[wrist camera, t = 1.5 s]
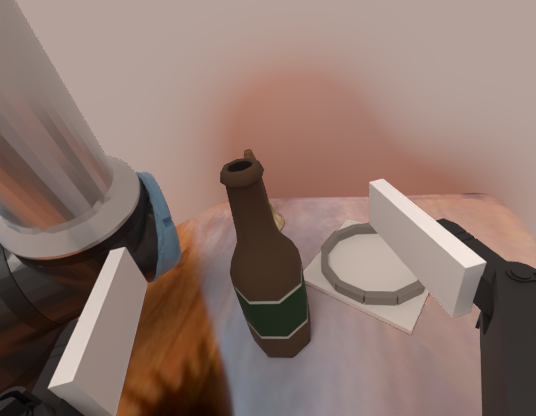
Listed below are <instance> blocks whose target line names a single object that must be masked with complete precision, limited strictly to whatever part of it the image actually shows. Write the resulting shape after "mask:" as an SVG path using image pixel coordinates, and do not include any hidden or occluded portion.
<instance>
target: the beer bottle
mask: <svg viewBox="0 0 536 416" xmlns="http://www.w3.org/2000/svg"><path fill="white" fill-rule="evenodd" d="M263 171H264V169H263V167H262V165H261V164H260V162H259V161H257V160H255V159H252V158H244V159H236V160H234V161H232V162H230V163H228V164H226V165H224V167H223V169H222V171H221V172H220V182H221V183H222V184H224V185H226V190H227V194H228V198H229V203H230V207H231V211H232V216H233V220H234V224H235V229H236V233H237V244H236V247H235V250H234V254H233V257H232V260H231V269H230V275H231V279H232V283H233V286H234V289H235V291H236V294H237V297H238V300H239V302H240V305H241V308H242V310H243V313H244V316H245V318H246V321H247V324H248V326H249V329H250V332H251V334H252V336H253V338H254V340H255V341H256V343H257V344H258V345H259V346H260V347H261V348H262V350H263V351H264V352H265V353H266V354H267V356H268V357H287V358H293V357H294V356H295V355H296V354H297V353H298V352H299V351H300V350H301V349H302V348H303V347H304V346H305V345H306V344H307V343H309V342H310V313H309V306H308V299H307V293H306V287H305V281H304V275H303V268H302V262H301V258H300V255H299V251H298V249H297V248H296V246H295V245H294V243H293V242H292V241H291V240H290V239H289V238H287V237H286V236H284V235H283V234H282V233H280V232H279V229H278V227H277V225H276V223H275V221H274V217H273V214H272V210H271V207H270V204H269V200H268V197H267V193H266V190H265V186H264V183H263V180H262V175H263Z"/></svg>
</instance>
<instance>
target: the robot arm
mask: <svg viewBox="0 0 536 416" xmlns="http://www.w3.org/2000/svg"><path fill="white" fill-rule="evenodd" d="M369 224H370V225H371V226H372V227H373V228H374V229H375V231H376V232H377V233H378V234H379V235H380V236H381V238H382V239H383V240H384V241H385V242H386V243H387V244H388V246H389V247H390V248H391V249H392V250H393V251H394V252H395V254H396V255H397V256H398V257H399V258H400V259H401V260H402V262H403V263H404V264H405V265H406V266H407V267H408V269H409V270H410V271H411V272H412V273H413V274H414V275H415V277H416V278H417V279H418V280H419V281H420V282H421V283H422V285H423V286H424V287H425V288H426V289H427V290H428V292H429V293H430V294H431V295H432V296H433V297H434V298H435V300H436V301H437V302H438V303H439V304H440V305H441V306H442V308H443V309H444V310H445V311H446V312H447V313H448V315H449V316H450V317H451V318H454V317H458V316H461V315H465V314H468V313H470V312H471V308H472V305H473V303H474V304H475V305H476V306H477V307H478V308H479V309H480V310H481V312H480V315H479V318H478V321H477V324H476V327H475V328H477V329H479V327H480V350H481V383H482V416H536V269H535V268H533V267H531V266H529V265H527V264H523V263H519V262H510V261H508V262H507V261H506V260H504V259H503V258H502V257H500V256H499V255H498V254H496V253H495V252H494V251H492V250H491V249H490V248H488V247H487V246H486V245H484V244H483V243H482V242H480V241H479V240H478V239H475V238H474V236H472V235H471V234H470V233H467V232H466V230H464V229H463V228H462V227H460V226H459V225H458V224H456V223H454V222H451V221H449V220H446V219H444V218H443V219H440V220H436V221H435V220H434V219H432V218H431V217H430V216H429V215H427V214H426V213H425V212H424V211H422V210H421V209H420V208H419V207H418V206H416V205H415V204H414V203H413V202H411V201H410V200H409V199H408V198H406V197H405V196H404V195H403V194H401V193H400V192H399V191H398V190H396V189H395V188H394V187H393V186H391V185H390V184H389V183H388V182H386V181H385V180H384V179H380V180H376V181H372V182H370V183H369ZM180 258H181V247H180V242H179V238H178V234H177V231H176V228H175V225H174V223H173V221H172V220H171V215H170V211H169V208H168V206H167V203H166V201H165V198H164V196H163V194H162V192H161V189H160V187H159V186H158V184H157V182H156V180H155V179H154V177H153V176H152V175H151V174H150V173H148V172H142V173H138V172H136V173H135V171H134V170H133V169H132V168H131V167H130V166H129V165H128V164H127V163H126V162H124V161H122V160H120V159H118V158H115V157H111V156H107V155H105V153H104V151H103V149H102V148H101V146H100V145H99V143H98V141H97V139H96V137H95V136H94V134H93V132H92V131H91V129H90V127H89V125H88V124H87V122H86V120H85V119H84V117H83V115H82V114H81V112H80V110H79V108H78V107H77V105H76V103H75V102H74V100H73V98H72V96H71V95H70V93H69V91H68V90H67V88H66V86H65V84H64V83H63V81H62V80H61V78H60V76H59V74H58V72H57V71H56V69H55V67H54V66H53V64H52V62H51V61H50V59H49V57H48V56H47V54H46V52H45V50H44V49H43V47H42V45H41V43H40V42H39V40H38V38H37V37H36V35H35V33H34V31H33V30H32V28H31V26H30V25H29V23H28V21H27V20H26V18H25V16H24V14H23V13H22V11H21V9H20V8H19V6H18V4H17V2H16V1H15V0H0V416H116V413H117V409H118V405H119V401H120V397H121V393H122V388H123V384H124V380H125V376H126V372H127V368H128V364H129V360H130V355H131V351H132V347H133V343H134V339H135V335H136V331H137V327H138V322H139V318H140V314H141V310H142V306H143V302H144V298H145V294H146V289H147V285H148V282H153V281H155V280H156V279H157V278H158V277H159V276H161V275H162V274H164V273H166V272H168V271H169V270H171V269H173V268H174V267H175V266H176V265H177V264H178V263H179V261H180ZM78 317H80V318H79V319H77V318H78Z"/></svg>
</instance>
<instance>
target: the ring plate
mask: <svg viewBox="0 0 536 416" xmlns="http://www.w3.org/2000/svg"><path fill="white" fill-rule="evenodd" d="M303 275H304V281H305V284H307V285H309V286H311V287H313V288H315V289H317V290H319V291H321V292H324V293H326V294H328V295H330V296H332V297H334V298H336V299H338V300H340V301H342V302H344V303H346V304H348V305H350V306H352V307H354V308H356V309H358V310H360V311H362V312H365V313H367V314H369V315H371V316H373V317H375V318H377V319H379V320H381V321H383V322H385V323H387V324H389V325H391V326H393V327H395V328H397V329H399V330H401V331H403V332H406V333H408V334H410V335H411V334H412V332H413V329H414V327H415V325H416V322H417V320H418V318H419V315H420V313H421V311H422V308H423V306H424V304H425V302H426V299H427V297H428V295H429V292H428V290H427V289H426V288H425V287H424V286H423V285H422V283H421V282H420V281H419V280H418V279H417V278H416V277H415V275H414V274H413V273H412V272H411V271H410V270H409V269H408V267H407V266H406V265H405V264H404V263H403V262H402V260H401V259H400V258H399V257H398V256H397V255H396V254H395V252H394V251H393V250H392V249H391V248H390V247H389V246H388V244H387V243H386V242H385V241H384V240H383V239H382V238H381V236H380V235H379V234H378V233H377V232H376V231H375V229H374V228H373V227H372V226H371V225H370V224H369V223H365V224H364V223H361V222H357V221H354V220H350V219H347V221H346V222H345V223H344V224H343V225H342V226H341V228H340V229H339V230H338V231H335V232H334V233H333V234H332V235H331V236H330V237H329V238H328V239H327V241H326V242H325V243H324V244H323V245H322V247H321V251H320V252H319V253H318V255H317V256H316V257H315V258H314V259H313V260H312V262H311V263H310V264H309V265H308V266H307V267H306V269H305V270H304V271H303Z"/></svg>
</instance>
